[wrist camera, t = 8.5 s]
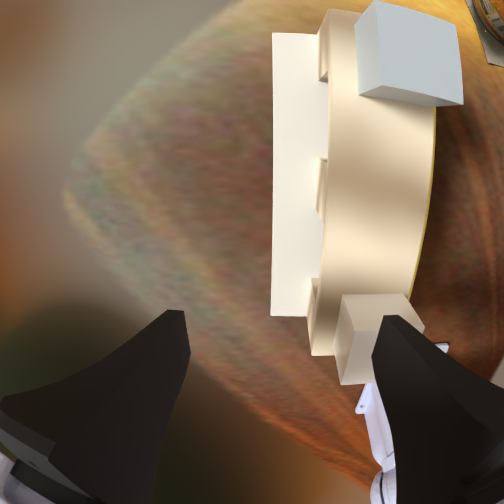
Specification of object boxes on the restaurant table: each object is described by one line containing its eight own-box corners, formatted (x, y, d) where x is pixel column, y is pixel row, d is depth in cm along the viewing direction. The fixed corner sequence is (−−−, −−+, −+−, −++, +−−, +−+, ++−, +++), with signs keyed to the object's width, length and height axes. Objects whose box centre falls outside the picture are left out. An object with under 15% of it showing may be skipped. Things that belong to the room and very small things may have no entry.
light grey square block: (427, 107, 10) (463, 104, 7) (357, 95, 10) (381, 85, 8) (423, 40, 9) (455, 24, 6) (354, 24, 9) (374, -1, 6)
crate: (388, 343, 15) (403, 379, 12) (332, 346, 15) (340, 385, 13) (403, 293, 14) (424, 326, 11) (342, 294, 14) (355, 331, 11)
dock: (395, 300, 21) (404, 315, 19) (271, 300, 21) (270, 316, 20) (419, 62, 14) (433, 56, 12) (272, 42, 14) (272, 32, 12)
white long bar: (374, 315, 19) (390, 352, 15) (306, 316, 19) (311, 355, 16) (398, 47, 12) (428, 30, 8) (316, 34, 12) (328, 8, 9)
